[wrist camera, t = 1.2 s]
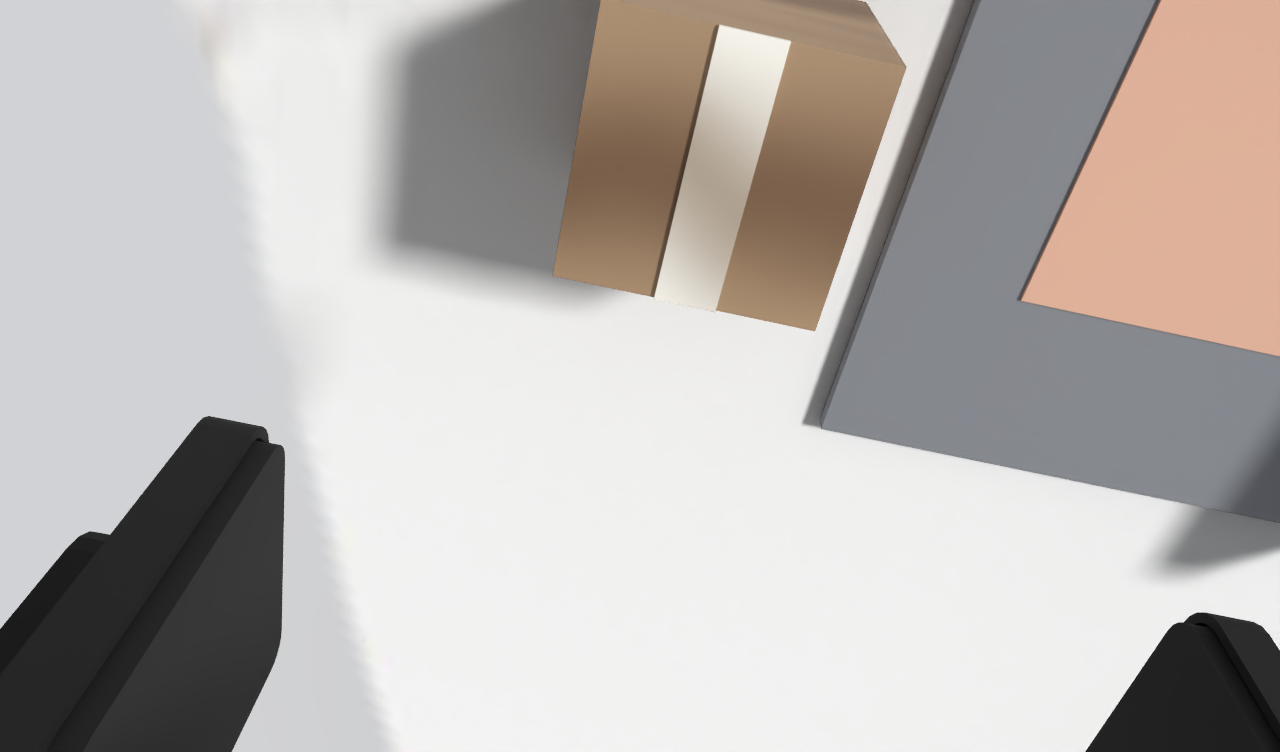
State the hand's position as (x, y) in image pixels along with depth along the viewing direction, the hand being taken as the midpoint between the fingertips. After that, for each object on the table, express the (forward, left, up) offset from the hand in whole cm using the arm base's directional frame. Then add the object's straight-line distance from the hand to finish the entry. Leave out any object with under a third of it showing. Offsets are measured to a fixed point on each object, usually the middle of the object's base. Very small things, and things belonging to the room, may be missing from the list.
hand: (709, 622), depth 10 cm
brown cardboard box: (0, 0, -18) cm, 18 cm away
